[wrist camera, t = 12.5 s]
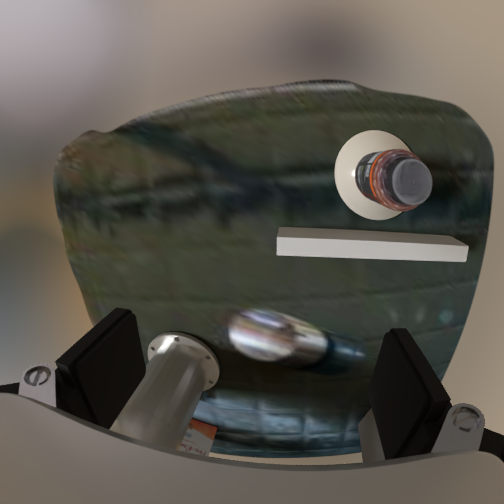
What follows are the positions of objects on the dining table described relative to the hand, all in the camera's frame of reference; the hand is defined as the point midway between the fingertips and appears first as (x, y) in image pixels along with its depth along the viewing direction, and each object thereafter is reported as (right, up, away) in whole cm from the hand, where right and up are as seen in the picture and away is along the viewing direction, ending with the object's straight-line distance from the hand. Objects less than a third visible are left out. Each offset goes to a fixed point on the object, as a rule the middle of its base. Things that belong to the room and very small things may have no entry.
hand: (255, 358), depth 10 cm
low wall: (+15, +5, +24) cm, 29 cm away
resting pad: (+15, +13, +21) cm, 29 cm away
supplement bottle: (+15, +13, +21) cm, 29 cm away
